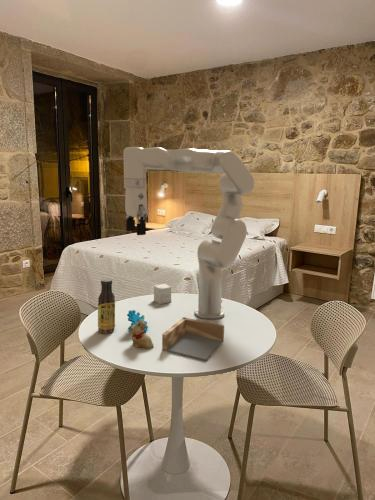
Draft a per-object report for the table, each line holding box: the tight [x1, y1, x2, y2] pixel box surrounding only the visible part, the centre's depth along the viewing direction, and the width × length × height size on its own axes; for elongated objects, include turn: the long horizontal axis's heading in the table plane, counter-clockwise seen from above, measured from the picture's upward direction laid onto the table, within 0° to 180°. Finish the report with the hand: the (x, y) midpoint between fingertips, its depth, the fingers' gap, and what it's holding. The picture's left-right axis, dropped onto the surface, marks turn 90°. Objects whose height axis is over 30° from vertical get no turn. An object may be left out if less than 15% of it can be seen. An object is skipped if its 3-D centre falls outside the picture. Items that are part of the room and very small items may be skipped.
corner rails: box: [161, 316, 225, 352], centre depth 127 cm, size 16×16×6 cm
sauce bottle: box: [97, 278, 116, 334], centre depth 136 cm, size 6×6×20 cm
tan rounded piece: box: [129, 320, 154, 350], centre depth 126 cm, size 6×8×10 cm
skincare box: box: [153, 283, 172, 305], centre depth 169 cm, size 6×6×7 cm
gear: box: [126, 309, 149, 333], centre depth 139 cm, size 11×6×10 cm
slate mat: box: [165, 333, 225, 362], centre depth 128 cm, size 16×16×1 cm
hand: (135, 232), depth 132 cm, fingers open, 9 cm apart
